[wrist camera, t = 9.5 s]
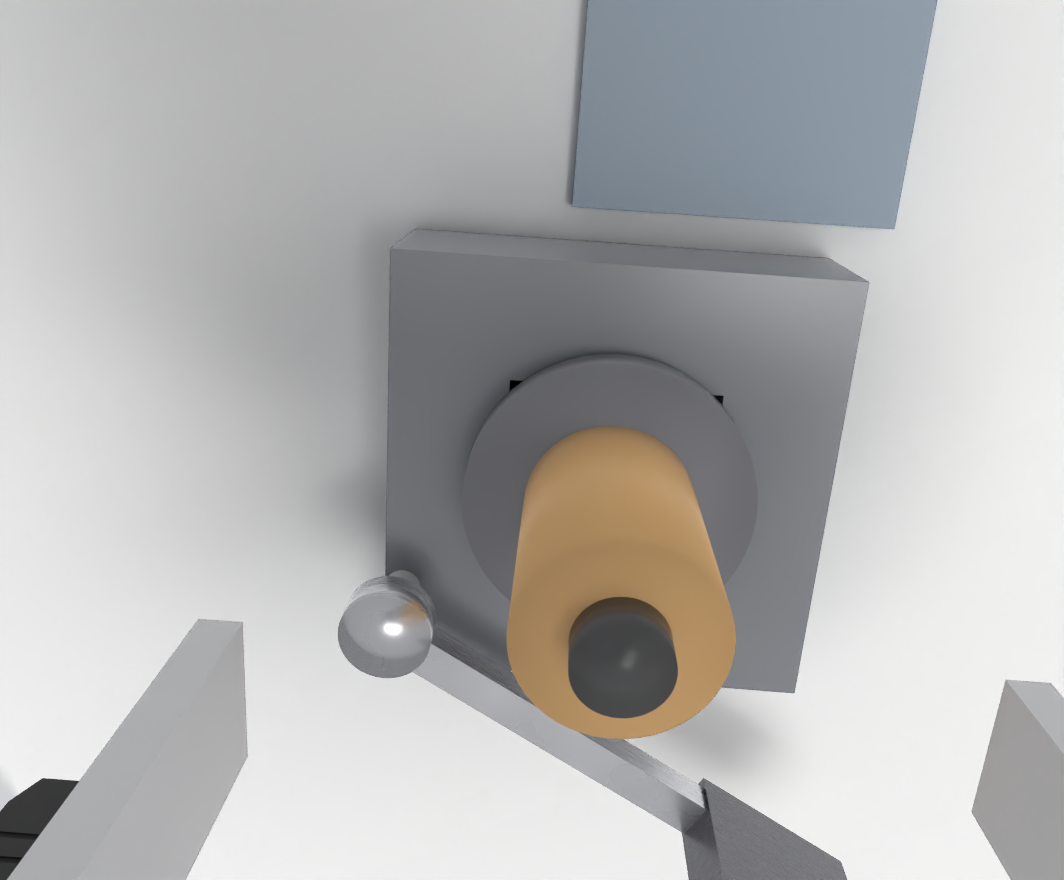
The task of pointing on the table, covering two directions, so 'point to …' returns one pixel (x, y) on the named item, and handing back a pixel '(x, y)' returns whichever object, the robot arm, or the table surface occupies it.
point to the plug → (613, 539)
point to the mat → (751, 107)
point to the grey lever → (574, 740)
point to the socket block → (630, 329)
